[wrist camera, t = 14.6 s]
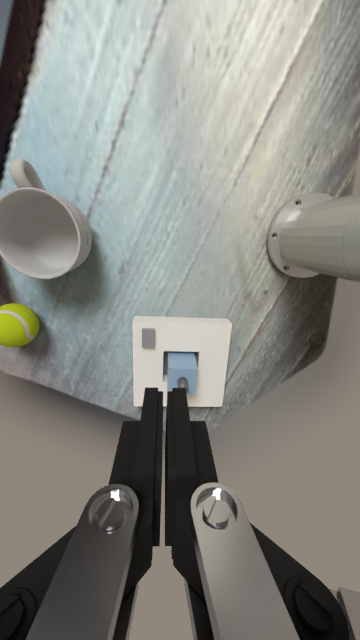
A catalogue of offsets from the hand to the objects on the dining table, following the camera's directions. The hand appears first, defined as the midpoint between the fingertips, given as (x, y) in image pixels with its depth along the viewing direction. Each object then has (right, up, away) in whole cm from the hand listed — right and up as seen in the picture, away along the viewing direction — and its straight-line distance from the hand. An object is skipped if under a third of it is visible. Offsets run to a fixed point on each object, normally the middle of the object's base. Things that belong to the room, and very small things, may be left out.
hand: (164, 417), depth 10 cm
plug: (+1, -3, +35) cm, 35 cm away
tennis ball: (-25, +4, +31) cm, 40 cm away
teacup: (-17, +18, +27) cm, 37 cm away
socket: (+1, -3, +35) cm, 35 cm away
